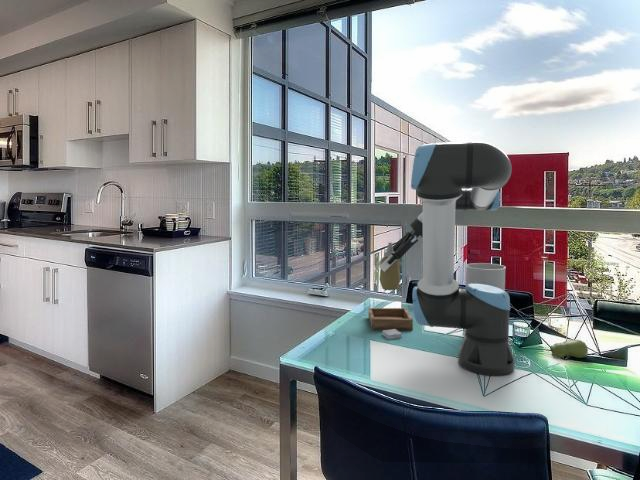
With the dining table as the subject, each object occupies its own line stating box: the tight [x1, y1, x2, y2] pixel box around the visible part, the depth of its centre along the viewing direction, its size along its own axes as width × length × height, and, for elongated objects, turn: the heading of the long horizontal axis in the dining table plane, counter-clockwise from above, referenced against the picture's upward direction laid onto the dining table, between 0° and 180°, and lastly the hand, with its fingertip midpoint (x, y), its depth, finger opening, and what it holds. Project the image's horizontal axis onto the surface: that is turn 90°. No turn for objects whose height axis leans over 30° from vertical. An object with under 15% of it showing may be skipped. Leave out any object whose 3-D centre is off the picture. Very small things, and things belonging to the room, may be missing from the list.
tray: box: [368, 307, 414, 331], centre depth 156 cm, size 15×15×4 cm
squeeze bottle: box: [379, 242, 402, 291], centre depth 154 cm, size 8×8×18 cm
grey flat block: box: [381, 329, 403, 340], centre depth 143 cm, size 5×5×2 cm
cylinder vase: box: [465, 262, 507, 291], centre depth 140 cm, size 12×12×25 cm
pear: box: [549, 339, 589, 359], centre depth 123 cm, size 6×5×10 cm
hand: (380, 267), depth 154 cm, fingers closed on squeeze bottle, 6 cm apart
